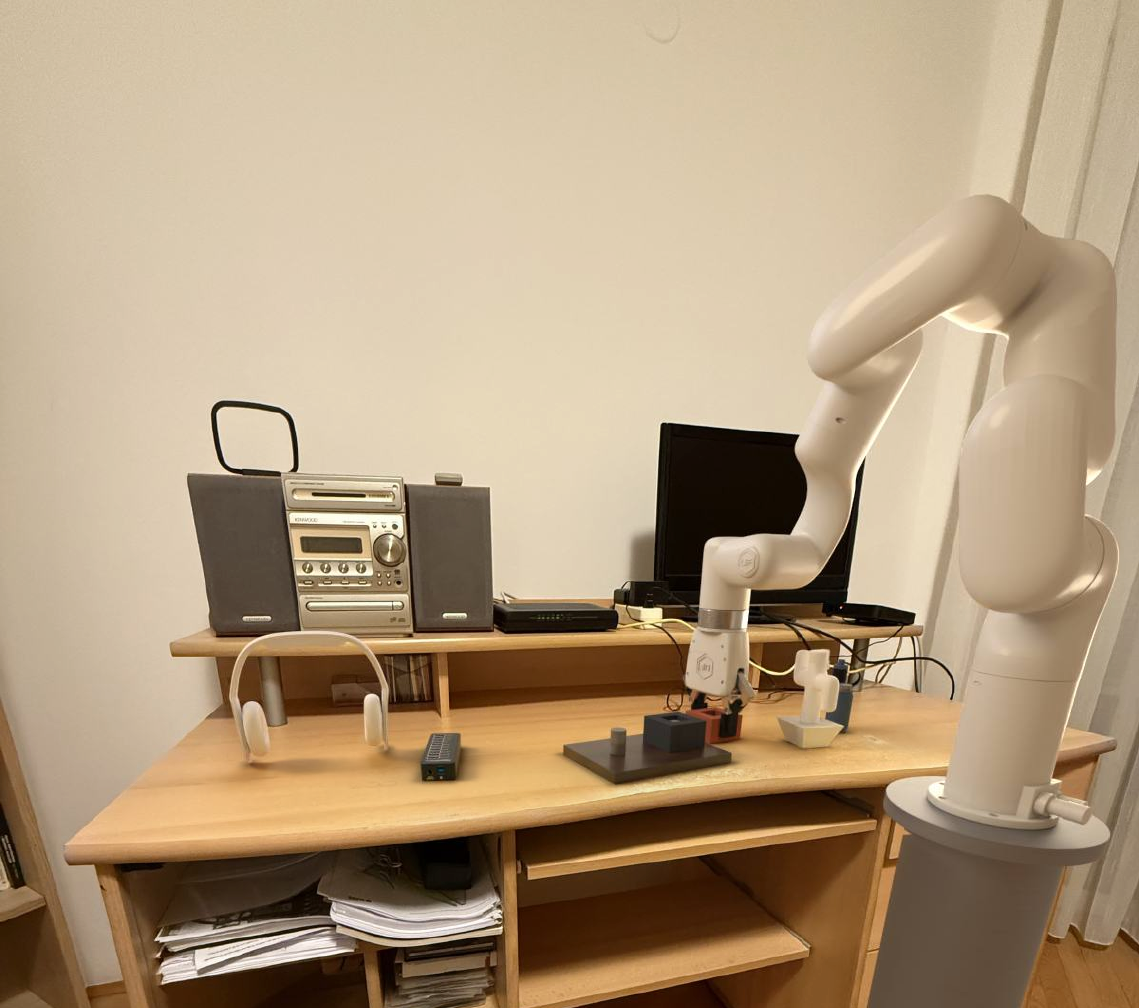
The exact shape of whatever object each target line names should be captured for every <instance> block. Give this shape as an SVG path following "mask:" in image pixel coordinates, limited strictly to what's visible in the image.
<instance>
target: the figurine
mask: <svg viewBox="0 0 1139 1008" xmlns="http://www.w3.org/2000/svg"><path fill="white" fill-rule="evenodd" d="M830 653H831V651H830V649H827V648H820V649H811V650H807V649H800V650H798V651H797V652H796V654H795V661H794V668H793V682H794V683H795V684H796V685H798V686H801V687H803V688H804V690H803V691H804V692H803V693H804V694H803V697H802V698H803V699H802V705H801V712H800V715H791V716H790V715H788V716H776V720H777V722H778V724H779V726H780V729H781V731H782V733H783V735H784V739H785V740H786V742H789V743H791V744H793V745H795V746H797V747H799V748H801V749H814V748H826V747H828V746H829V744H830V743H832V741H833V740H834V739H835V738H836V736H838V734H840V733H839V732H840V731H841V729H842V728H843V727H844V726H842V725H840V724H837V723H834V722H832V721H829V720H826V719H825V717H824V718H823V717H821V712H825V713H826V712H833V711H835V709H836V706H837V700H838V694H839V680H838V679H837V678H836V677H834V676H832V675H831V674H828V670H830V667H831V664H830V662H831V660H830V655H831V654H830Z"/></svg>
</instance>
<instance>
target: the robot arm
mask: <svg viewBox="0 0 1139 1008" xmlns="http://www.w3.org/2000/svg"><path fill="white" fill-rule="evenodd" d="M1117 308H1118V291H1117V280H1116V274H1115V270H1114V267H1113V264H1112V262H1111V260H1110V259H1109V257H1108V256H1107V255H1106V254H1105V253H1104V252H1103V251H1102V250H1100V249H1099V248H1097V247H1096V246H1095V245H1093V244H1091V243H1089V242H1087V241H1085V240H1079V239H1073V238H1067V237H1066V238H1065V237H1060V236H1059V237H1058V236H1052V235H1048V234H1046V233H1043V232H1041V230H1040V229H1038V228H1037V227H1036V226H1035V225H1034V224H1033V223H1032V222H1030V221H1029V220H1028V219H1026V218H1025V217H1024V215H1022V214H1021V213H1020V212H1019V211H1018V209H1016V208H1015V206H1013V205H1012V204H1011V203H1010V202H1008V201H1007V200H1006V199H1004V198H1002V197H1000V196H996V195H993V194H988V193H985V194H975V195H971V196H968V197H964V198H962V199H959V200H957V201H955V202H954V203H952V204H950V205H949V206H947V207H946V208H944V209H942V210H941V211H939V212H938V213H937V214H935V215H934V216H932V217H931V218H930V219H928V220H927V221H926V222H924V223H923V224H922V225H921V226H919V227H918V228H917V229H916V230H915V231H913V232H912V233H911V234H909V235H908V236H907V237H905V238H904V239H903V240H901V242H899V243H898V244H897V245H896V246H895V247H893V248H892V249H891V250H889V252H887V253H886V254H885V255H883V256H882V257H881V258H879V259H878V260H877V261H876V262H875V263H873V264H872V265H871V266H869V267H868V268H867V269H865V271H863V272H862V273H861V274H860V275H859V276H857V277H856V278H855V279H853V281H852V282H850V283H849V285H847V286H846V287H845V288H844V289H843V290H842V291H841V292H840V293H839V294H838V295H837V296H835V297H834V299H832V301H831V302H830V303H829V304H828V306H826V308H825V309H824V310H823V312H822V313H821V314H820V316H819V318H818V319H817V320H816V322H815V324H814V326H813V329H812V331H811V333H810V336H809V339H808V343H807V348H806V349H807V350H806V351H807V353H806V355H807V356H806V357H807V362H808V365H809V368H810V369H811V371H812V373H813V374H814V375H815V376H816V377H818V378H819V379H821V380H823V381H825V383H824V385H823V387H822V388H821V391H820V393H819V395H818V398H817V400H816V402H815V403H814V406H813V408H812V410H811V412H810V414H809V417H808V418H807V419H806V422H805V424H804V426H803V428H802V430H801V432H800V433H799V436H798V438H797V440H796V442H795V445H794V453H795V457H796V459H797V461H798V462H799V464H800V466H801V468H802V471H803V473H804V475H805V479H806V485H807V486H806V488H807V490H806V499H805V502H804V506H803V508H802V511H801V514H800V516H799V518H798V520H797V522H796V523H795V526H794V527H793V529H792V531H791V533H790V534H778V533H777V534H776V533H774V534H773V533H755V534H751V535H747V536H715V537H712V538H710V539H708V540H707V541H706V542H705V544H704V548H703V556H702V557H703V558H702V569H701V571H702V572H701V582H700V583H701V584H700V594H699V605H698V607H699V608H698V614H697V627H695V628H694V630H693V632H692V636H691V640H690V645H689V648H688V655H687V662H686V670H685V673H684V675H682V681H683V683H684V686H685V688H686V693H687V695H688V702H689V704H690V710H695V709H703V708H709V702H706V701H707V698H708V696H709V695H711V696H714V697H719V698H721V703H722V707H723V708H722V709H724V712H725V713H721V721H720V731H719V737H720V738H728V737H734V736H736V733H737V723H738V714H741V713H742V712H743V710H744V708H746V707H747V706H748V704H749V703H750V702H751V701H752V700H753V699H754V698H755V697H756V692H755V690H754V689H753V687H752V685H751V683H750V682H749V671H750V670H749V669H750V638H749V632H748V631H747V629H748V621H749V610H750V601H751V591H752V590H753V591H774V590H795V589H800V588H803V587H805V586H807V585H808V584H810V583H811V582H812V581H814V580H815V579H816V577H818V575H819V574H820V573H821V572H822V570H823V569H824V568H825V566H826V564H827V563H828V562H829V559H830V558H831V556H832V555H833V553H834V552H835V549H836V547H837V546H838V544H839V543H840V541H841V539H842V537H843V535H844V533H845V531H846V528H847V525H848V523H849V521H850V516H851V511H852V507H853V502H854V497H855V491H856V479H857V474H858V471H859V469H860V467H861V465H862V464H863V461H864V459H865V457H866V456H867V454H868V452H869V450H870V449H871V447H872V445H873V443H874V441H875V440H876V438H877V437H878V434H879V432H880V431H881V429H882V427H883V426H884V424H885V422H886V420H887V419H888V417H889V415H890V413H891V412H892V409H893V408H894V406H895V404H896V403H897V402H898V399H899V397H900V396H901V394H902V392H903V390H904V388H905V387H906V385H907V383H908V381H909V379H910V378H911V376H912V373H913V372H914V370H915V369H916V367H917V364H918V363H919V360H920V357H921V355H922V353H923V349H924V340H925V339H924V332H923V329H922V328H923V327H924V326H926V325H927V324H929V323H930V322H933V321H934V320H935V319H936V318H938V317H940V316H942V317H943V318H945V319H947V320H949V321H950V322H951V323H954V324H956V325H958V326H960V327H962V328H964V329H966V330H969V331H972V332H979V333H987V334H988V333H989V334H997V335H1002V336H1004V337H1005V338H1006V340H1007V341H1006V346H1005V350H1004V354H1003V360H1002V368H1001V378H1002V379H1001V380H1002V388H1001V389H1000V390H999V391H997V392H996V393H995V394H994V395H992V397H990V398H989V399H988V400H987V401H986V402H985V403H984V404H983V405H982V406H981V408H980V409H979V410H978V411H977V413H976V415H975V416H974V417H973V419H972V421H971V422H970V424H969V426H968V429H967V431H966V433H965V435H964V439H963V442H962V446H961V450H960V456H959V464H958V565H959V566H958V567H959V574H960V578H961V581H962V584H963V587H964V589H965V591H966V592H967V594H968V595H969V596H970V598H971V599H972V600H973V601H975V603H977V604H978V605H980V606H981V607H983V608H985V609H987V610H988V612H987V614H986V616H985V619H984V621H983V624H982V627H981V629H980V633H979V635H978V639H977V642H976V646H975V649H974V653H973V658H972V661H971V666H970V670H969V674H968V678H967V682H966V686H965V692H964V697H963V701H962V705H961V708H960V709H961V710H960V713H959V718H958V722H957V727H956V732H955V735H954V740H953V745H952V749H951V753H950V757H949V762H948V767H947V771H946V779H945V781H941V782H937V783H933V784H932V785H930V786H929V787H928V790H927V798H928V800H929V801H930V802H931V803H932V804H933V805H934V806H936V807H937V808H939V809H941V810H943V811H945V812H947V813H949V814H952V815H955V816H957V817H960V818H963V819H966V820H969V821H973V822H977V823H981V824H985V825H990V826H995V827H1002V828H1008V829H1019V830H1040V829H1046V828H1051V827H1053V826H1055V825H1056V824H1057V823H1058V821H1059V817H1062V819H1065V820H1068V821H1071V822H1074V823H1078V824H1081V825H1085V824H1086V823H1087V822H1088V821H1089V819H1090V817H1091V814H1092V815H1093V808H1092V807H1091V806H1089V802H1088V801H1087V800H1082V799H1079V798H1075V797H1070V796H1066V795H1064V794H1063V792H1062V791H1060V790H1061V788H1062V787H1061V786H1062V783H1063V781H1062V780H1059V779H1055V778H1053V775H1054V771H1055V768H1056V764H1057V761H1058V757H1059V753H1060V750H1061V746H1062V743H1063V739H1064V736H1065V732H1066V729H1067V725H1068V723H1069V719H1070V716H1071V711H1072V708H1073V705H1074V701H1075V698H1076V694H1077V691H1078V687H1079V684H1080V680H1081V679H1082V676H1083V672H1084V668H1085V665H1086V662H1087V659H1088V655H1089V652H1090V649H1091V646H1092V642H1093V639H1094V636H1095V633H1096V630H1097V627H1098V625H1099V622H1100V619H1101V617H1102V614H1103V612H1104V609H1105V607H1106V604H1107V602H1108V599H1109V597H1110V594H1111V592H1112V589H1113V587H1114V584H1115V580H1116V578H1117V574H1118V569H1119V563H1120V551H1119V545H1118V541H1117V539H1116V537H1115V535H1114V533H1113V531H1112V530H1111V529H1110V528H1109V527H1108V525H1106V524H1105V523H1104V521H1101V520H1100V519H1098V518H1096V517H1095V516H1092V515H1090V514H1087V513H1086V504H1087V503H1086V501H1087V485H1089V484H1090V483H1091V482H1092V481H1093V480H1094V479H1096V477H1097V476H1099V474H1101V472H1102V471H1103V469H1104V468H1105V466H1106V465H1107V463H1108V461H1109V459H1110V458H1111V455H1112V452H1113V449H1114V447H1115V441H1116V431H1117V430H1116V429H1117V428H1116V386H1117V385H1116V383H1117V317H1118V316H1117V313H1118V312H1117V311H1118V309H1117ZM731 699H732V703H731Z"/></svg>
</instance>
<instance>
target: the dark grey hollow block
mask: <svg viewBox="0 0 1139 1008" xmlns="http://www.w3.org/2000/svg"><path fill="white" fill-rule="evenodd" d="M670 720H679V721H678V722H672V721H670ZM706 723H707V721H705V720H702V719H699V718H696V717H693V716H690V715H687V714H686V713H684V712H682V711H671V712H664V713H655V714H648V715H643V729H642V730H643V732H642V734H643V742H646V743H648V744H650V745H652V746H655V747H657V748H659V749H661V750H664V751H666V752H668V753H672V752H678V751H684V750H690V749H695V748H702V747H704V745H705V743H706V742H705V734H706Z"/></svg>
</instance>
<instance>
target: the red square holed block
mask: <svg viewBox="0 0 1139 1008" xmlns="http://www.w3.org/2000/svg"><path fill="white" fill-rule="evenodd" d="M721 713H725V712H724V708H721V707H718V706H712V707H708V708H703V709H695V710H691V709H689V710H685V714H687V715H690V716H693V717H696V718H699V719H702V720H705V721H707V723H706V734H705V743H707V744H710V745H712V744H716V743H717V744H718V743H722V742H729V741H735V740H740V739H741V734H742V725H743V717H744V716H743V714H741V713H739V714H738V723H737V733H736V736H734V737H728V738H720V737H719V731H720V721H721Z"/></svg>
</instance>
